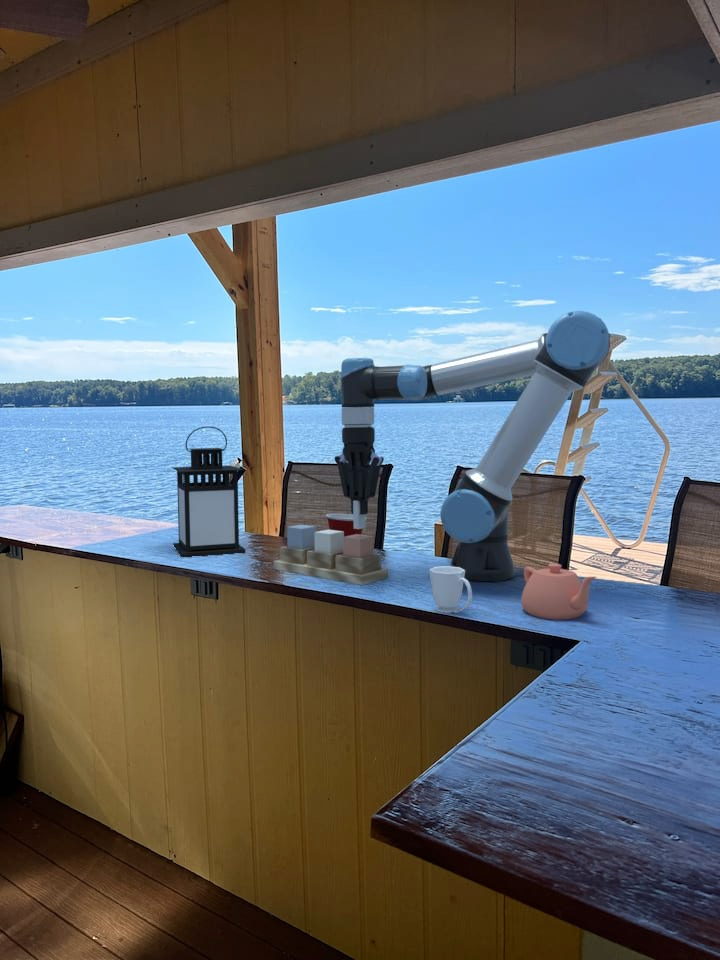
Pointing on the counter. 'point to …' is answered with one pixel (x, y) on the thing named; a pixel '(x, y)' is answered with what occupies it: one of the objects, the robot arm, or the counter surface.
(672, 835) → the counter surface
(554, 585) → the teapot
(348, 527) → the plastic cup
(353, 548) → the terracotta key
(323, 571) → the beige slotted block
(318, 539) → the ivory key
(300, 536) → the slate key
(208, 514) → the lantern
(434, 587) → the cup
